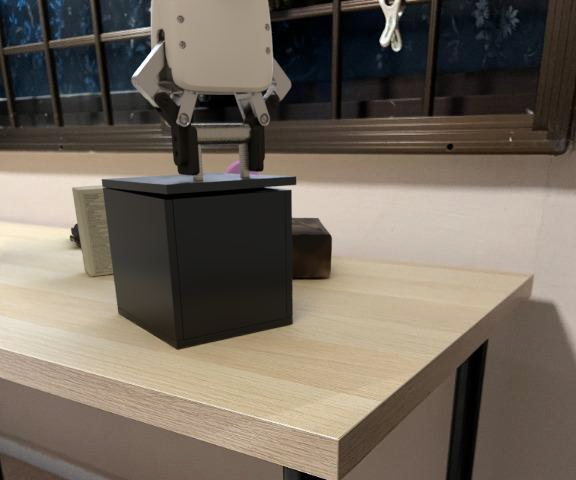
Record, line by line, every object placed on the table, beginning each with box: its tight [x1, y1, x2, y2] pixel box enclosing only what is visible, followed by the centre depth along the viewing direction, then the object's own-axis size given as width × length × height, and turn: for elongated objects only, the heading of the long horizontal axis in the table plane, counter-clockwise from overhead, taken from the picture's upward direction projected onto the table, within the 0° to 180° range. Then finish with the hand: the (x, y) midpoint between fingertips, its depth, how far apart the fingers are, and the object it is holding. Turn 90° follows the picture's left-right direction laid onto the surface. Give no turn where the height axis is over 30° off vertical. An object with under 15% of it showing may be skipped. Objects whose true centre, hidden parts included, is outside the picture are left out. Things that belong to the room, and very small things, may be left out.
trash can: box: [103, 187, 294, 350], centre depth 65 cm, size 16×14×14 cm
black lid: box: [101, 123, 297, 194], centre depth 61 cm, size 16×14×6 cm
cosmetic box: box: [71, 184, 113, 277], centre depth 88 cm, size 6×4×12 cm
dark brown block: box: [292, 217, 333, 279], centre depth 91 cm, size 8×19×7 cm, turn 2°
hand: (221, 170), depth 57 cm, fingers closed on black lid, 6 cm apart
